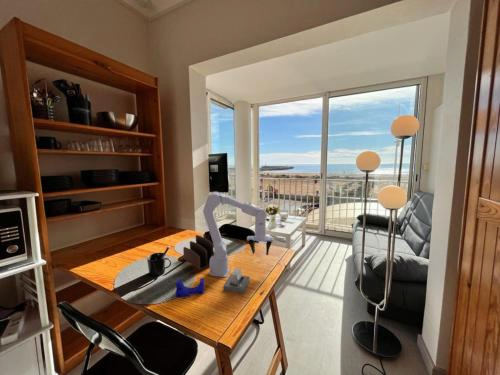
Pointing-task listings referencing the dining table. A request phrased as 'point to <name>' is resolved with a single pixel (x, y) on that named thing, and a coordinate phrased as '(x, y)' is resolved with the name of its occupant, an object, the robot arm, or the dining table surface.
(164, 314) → the dining table surface
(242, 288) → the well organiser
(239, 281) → the long block
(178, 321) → the dining table surface
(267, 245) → the robot arm
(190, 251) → the letter holder
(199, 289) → the blue concave cradle block
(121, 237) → the dining table surface
